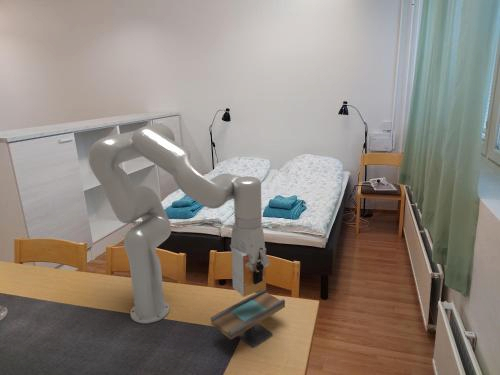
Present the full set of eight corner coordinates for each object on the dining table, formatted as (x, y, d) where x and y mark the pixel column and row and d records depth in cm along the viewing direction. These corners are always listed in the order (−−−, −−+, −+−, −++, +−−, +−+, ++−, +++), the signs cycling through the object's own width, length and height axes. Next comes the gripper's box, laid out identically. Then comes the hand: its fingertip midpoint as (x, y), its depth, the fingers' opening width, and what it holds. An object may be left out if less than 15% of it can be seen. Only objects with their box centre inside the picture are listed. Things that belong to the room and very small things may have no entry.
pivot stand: (227, 328, 114) (226, 313, 112) (246, 317, 119) (246, 303, 117) (253, 348, 105) (253, 332, 104) (272, 335, 110) (272, 320, 109)
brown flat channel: (211, 324, 106) (211, 317, 106) (264, 295, 121) (264, 288, 120) (230, 339, 100) (230, 332, 99) (284, 307, 114) (284, 300, 114)
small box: (243, 297, 103) (242, 256, 99) (232, 287, 108) (231, 247, 105) (266, 288, 107) (266, 248, 104) (254, 279, 112) (254, 241, 109)
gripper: (218, 216, 106) (220, 271, 110) (259, 233, 93) (260, 294, 98) (238, 210, 110) (239, 263, 115) (279, 225, 98) (279, 284, 103)
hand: (249, 277), depth 107 cm, fingers closed on small box, 6 cm apart
